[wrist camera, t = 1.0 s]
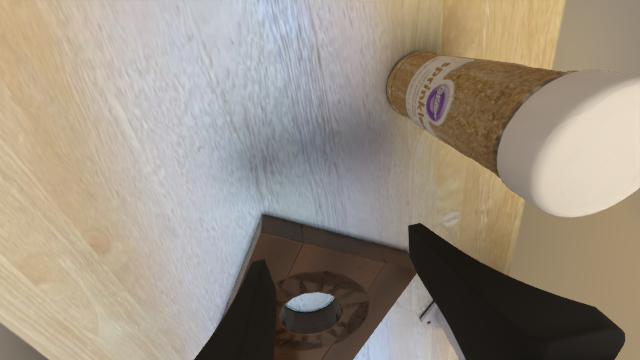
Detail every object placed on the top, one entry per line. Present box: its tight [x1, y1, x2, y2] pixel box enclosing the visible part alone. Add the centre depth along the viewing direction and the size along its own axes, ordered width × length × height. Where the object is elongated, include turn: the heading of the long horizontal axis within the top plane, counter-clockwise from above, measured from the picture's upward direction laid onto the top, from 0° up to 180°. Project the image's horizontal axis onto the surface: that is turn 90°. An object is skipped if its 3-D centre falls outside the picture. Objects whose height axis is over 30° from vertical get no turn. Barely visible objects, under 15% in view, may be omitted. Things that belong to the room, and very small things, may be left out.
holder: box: [222, 215, 417, 360], centre depth 27 cm, size 15×16×2 cm
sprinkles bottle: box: [387, 51, 640, 217], centre depth 14 cm, size 5×4×13 cm
